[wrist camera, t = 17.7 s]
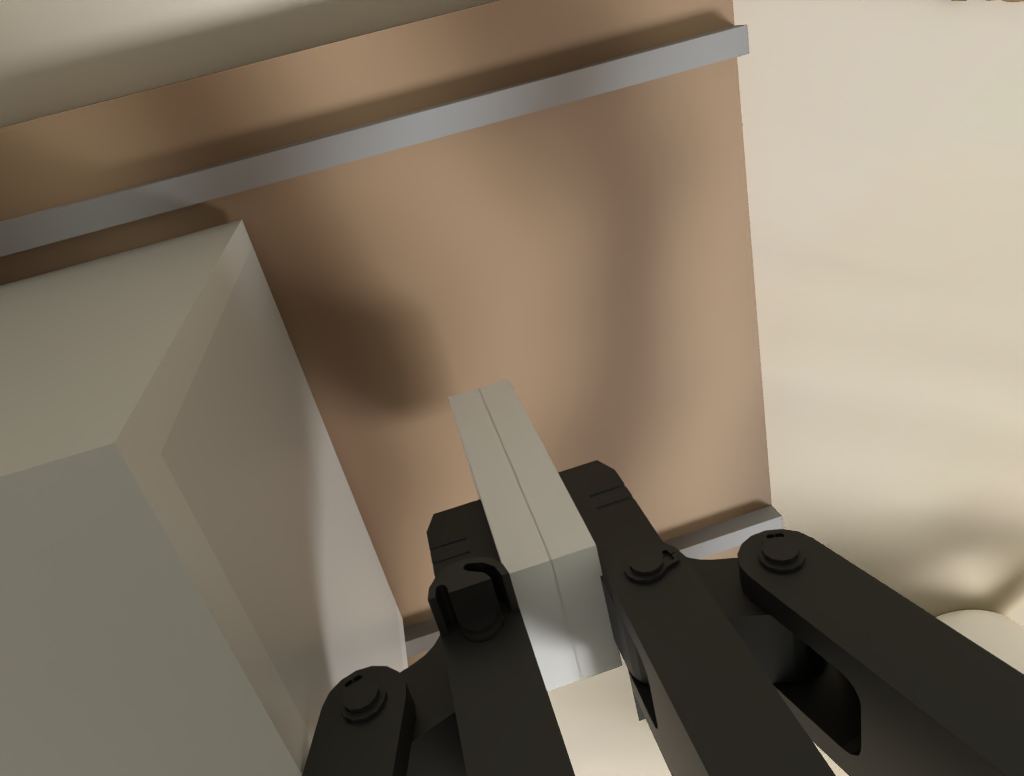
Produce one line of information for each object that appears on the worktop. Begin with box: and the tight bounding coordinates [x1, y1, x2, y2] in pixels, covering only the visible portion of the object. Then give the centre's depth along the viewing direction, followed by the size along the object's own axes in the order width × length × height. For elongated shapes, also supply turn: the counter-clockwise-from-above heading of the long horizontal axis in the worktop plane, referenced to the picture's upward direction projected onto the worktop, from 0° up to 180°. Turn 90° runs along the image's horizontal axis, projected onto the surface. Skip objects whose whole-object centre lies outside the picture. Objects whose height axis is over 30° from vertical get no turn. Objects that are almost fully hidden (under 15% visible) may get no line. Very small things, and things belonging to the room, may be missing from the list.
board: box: [0, 0, 783, 667], centre depth 19 cm, size 24×18×3 cm
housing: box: [0, 219, 408, 776], centre depth 14 cm, size 10×12×10 cm
